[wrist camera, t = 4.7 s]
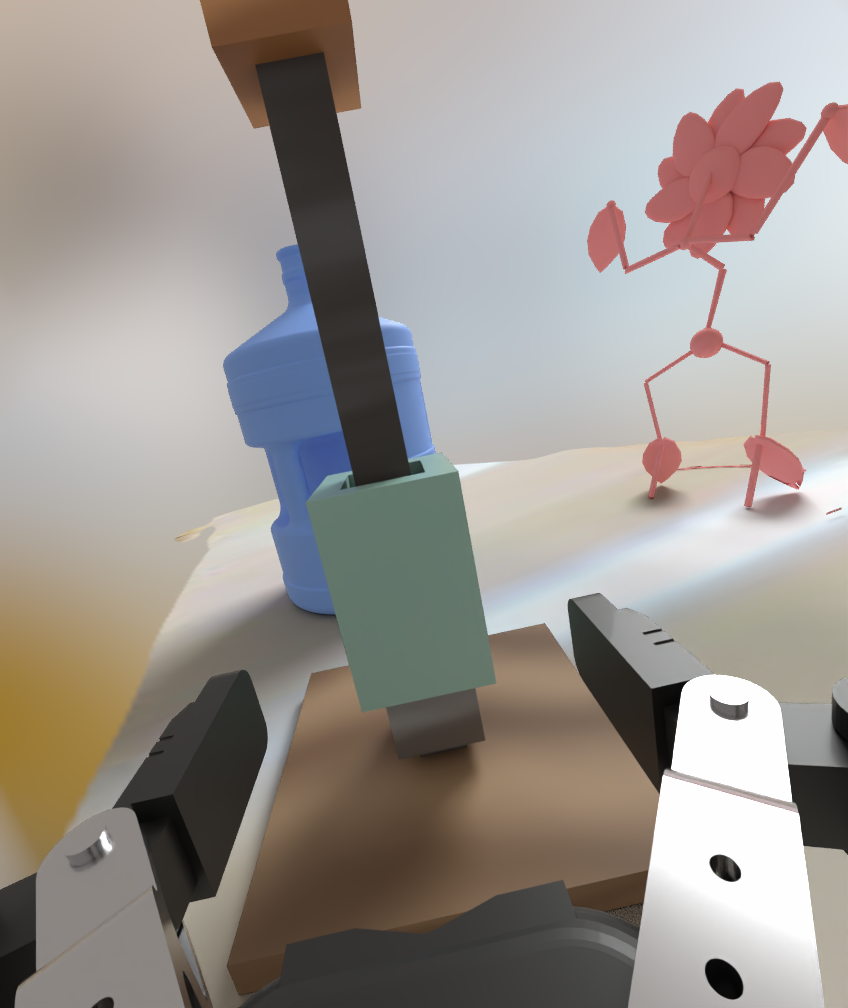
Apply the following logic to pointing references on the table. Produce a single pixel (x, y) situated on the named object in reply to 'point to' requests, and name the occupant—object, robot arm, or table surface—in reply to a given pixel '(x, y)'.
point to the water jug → (309, 420)
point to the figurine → (722, 229)
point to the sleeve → (403, 583)
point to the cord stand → (331, 693)
